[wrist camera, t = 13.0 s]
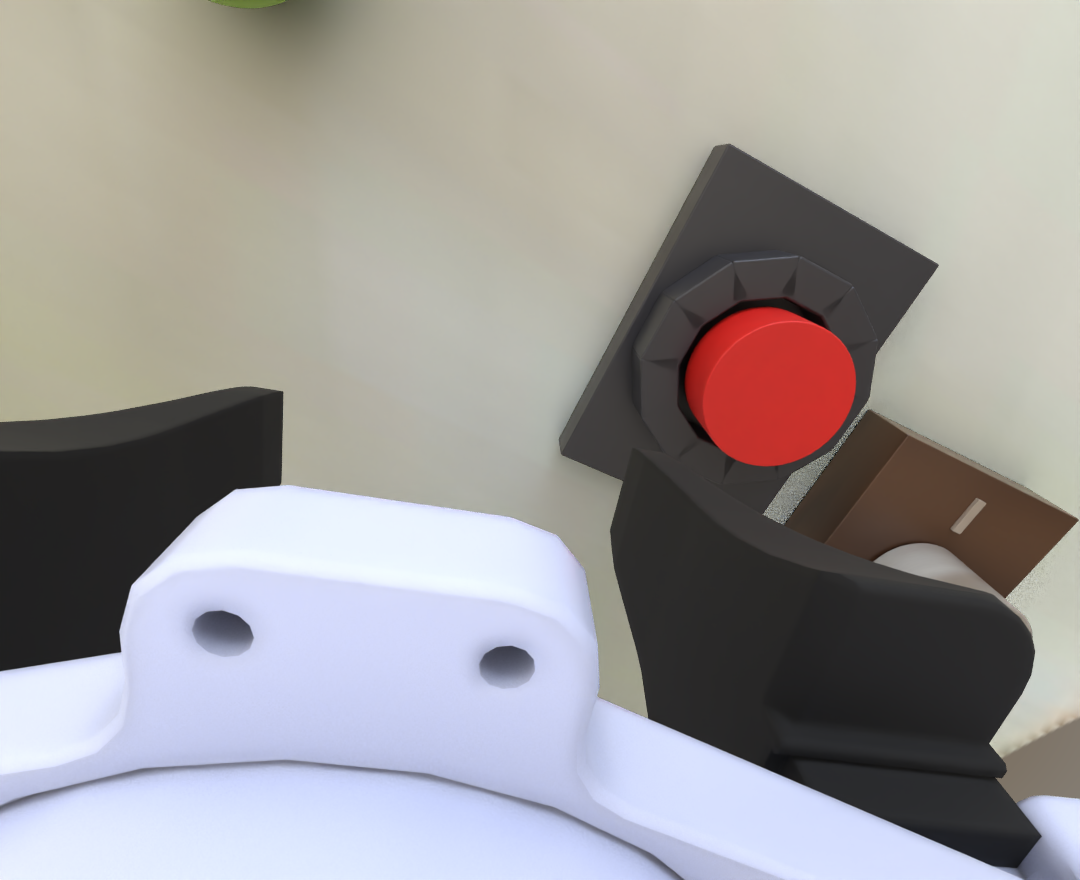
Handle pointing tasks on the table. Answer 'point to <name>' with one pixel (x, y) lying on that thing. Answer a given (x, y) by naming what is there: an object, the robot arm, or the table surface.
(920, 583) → the robot arm
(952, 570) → the dimmer knob
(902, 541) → the dimmer panel
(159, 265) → the table surface
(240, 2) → the snail figurine
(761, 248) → the switch box
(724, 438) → the button
